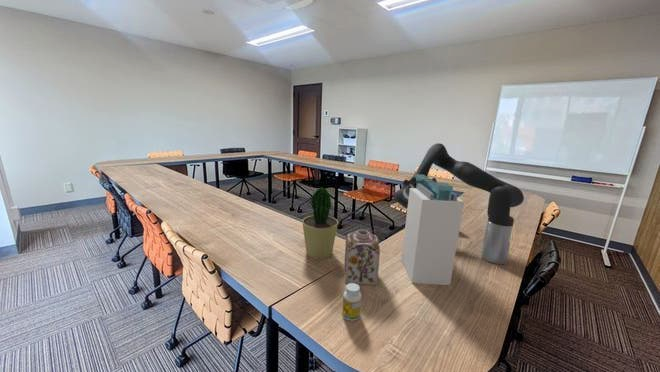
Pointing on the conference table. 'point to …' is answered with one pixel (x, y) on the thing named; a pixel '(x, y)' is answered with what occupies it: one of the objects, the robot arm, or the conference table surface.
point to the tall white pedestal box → (431, 236)
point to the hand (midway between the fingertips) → (424, 179)
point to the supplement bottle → (351, 302)
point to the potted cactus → (320, 226)
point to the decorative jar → (361, 258)
